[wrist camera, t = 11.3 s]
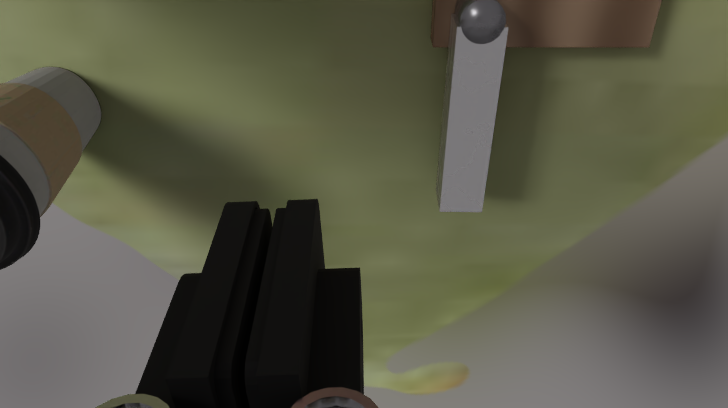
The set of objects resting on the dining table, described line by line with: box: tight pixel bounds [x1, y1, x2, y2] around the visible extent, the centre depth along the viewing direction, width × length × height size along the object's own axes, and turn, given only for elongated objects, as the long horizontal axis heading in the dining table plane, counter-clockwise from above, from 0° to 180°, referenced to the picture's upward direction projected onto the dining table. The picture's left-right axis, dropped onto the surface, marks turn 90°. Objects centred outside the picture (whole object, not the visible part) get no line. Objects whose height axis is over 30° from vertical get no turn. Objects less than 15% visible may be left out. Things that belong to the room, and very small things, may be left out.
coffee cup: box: [0, 67, 101, 270], centre depth 36 cm, size 9×9×15 cm
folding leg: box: [436, 0, 509, 212], centre depth 37 cm, size 15×3×3 cm, turn 0°
